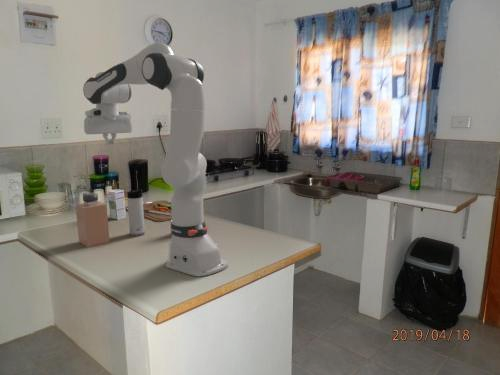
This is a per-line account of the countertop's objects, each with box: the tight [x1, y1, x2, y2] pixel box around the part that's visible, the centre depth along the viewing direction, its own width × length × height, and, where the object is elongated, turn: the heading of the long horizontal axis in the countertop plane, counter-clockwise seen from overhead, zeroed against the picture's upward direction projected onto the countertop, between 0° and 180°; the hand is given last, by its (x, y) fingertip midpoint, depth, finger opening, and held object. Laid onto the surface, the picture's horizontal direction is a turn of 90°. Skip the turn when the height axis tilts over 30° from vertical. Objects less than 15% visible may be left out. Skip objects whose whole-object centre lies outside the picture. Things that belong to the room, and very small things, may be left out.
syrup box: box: [107, 188, 127, 221], centre depth 195 cm, size 6×6×14 cm
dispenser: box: [75, 199, 111, 248], centre depth 157 cm, size 9×9×18 cm
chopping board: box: [125, 200, 172, 223], centre depth 210 cm, size 45×27×3 cm, turn 44°
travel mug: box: [126, 189, 146, 237], centre depth 167 cm, size 6×7×20 cm
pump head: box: [82, 192, 99, 202], centre depth 158 cm, size 9×6×12 cm, turn 44°
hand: (110, 144), depth 168 cm, fingers closed
